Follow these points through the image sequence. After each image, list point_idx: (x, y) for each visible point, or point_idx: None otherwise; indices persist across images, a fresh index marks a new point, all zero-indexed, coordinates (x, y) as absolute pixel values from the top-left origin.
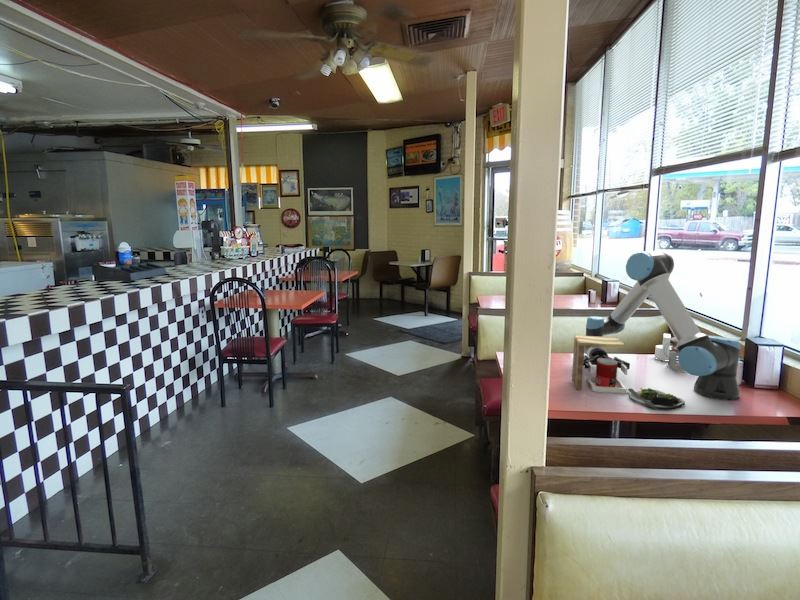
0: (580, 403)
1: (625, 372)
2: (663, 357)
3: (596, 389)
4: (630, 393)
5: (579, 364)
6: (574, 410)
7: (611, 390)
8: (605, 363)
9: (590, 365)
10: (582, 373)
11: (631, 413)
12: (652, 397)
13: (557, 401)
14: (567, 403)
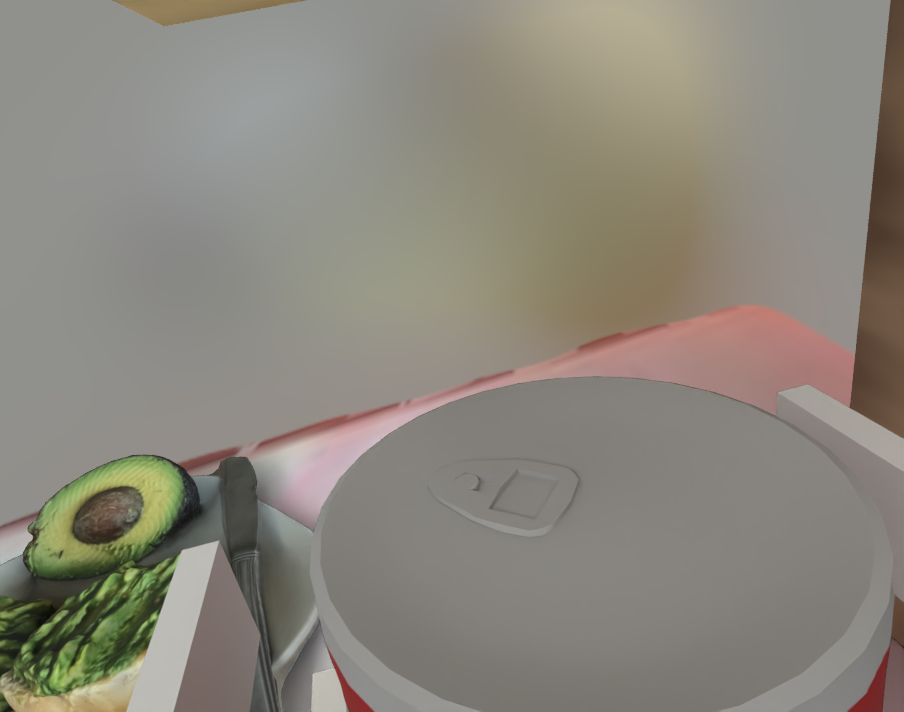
0: (683, 382)
1: (240, 603)
2: None
3: None
4: (300, 630)
5: None
6: (671, 326)
7: None
8: (570, 381)
9: (853, 411)
10: (854, 389)
11: (386, 406)
12: (183, 477)
13: (823, 349)
14: (752, 355)
